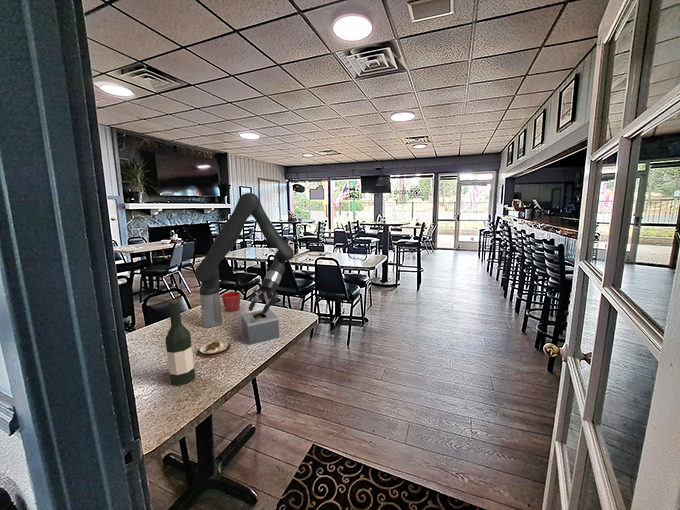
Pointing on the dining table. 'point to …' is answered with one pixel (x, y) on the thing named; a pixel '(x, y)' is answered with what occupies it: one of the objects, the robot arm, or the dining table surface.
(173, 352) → the wine bottle
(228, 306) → the flower pot
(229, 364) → the dining table surface
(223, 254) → the robot arm
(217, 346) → the plate of food
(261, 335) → the box
